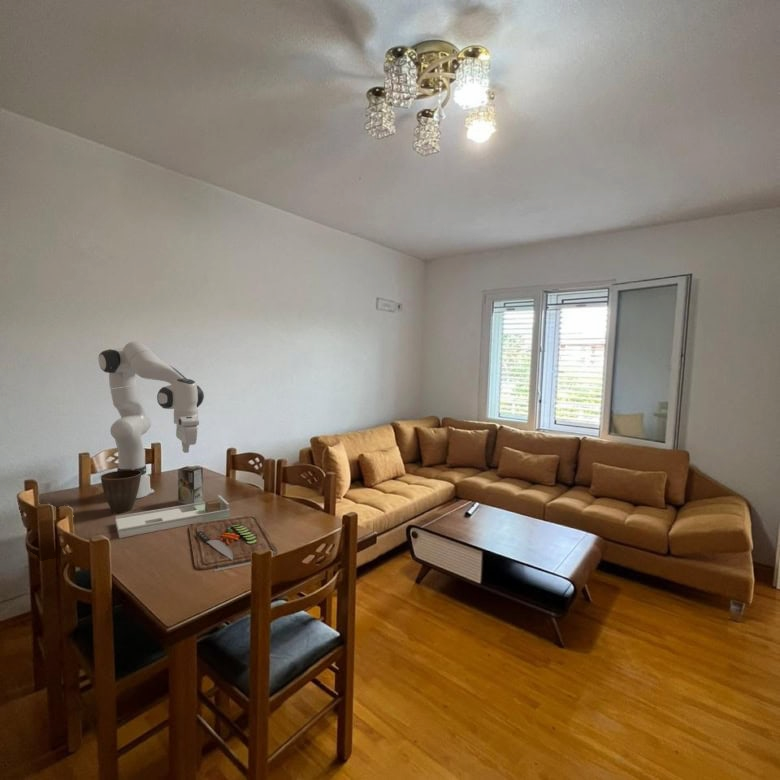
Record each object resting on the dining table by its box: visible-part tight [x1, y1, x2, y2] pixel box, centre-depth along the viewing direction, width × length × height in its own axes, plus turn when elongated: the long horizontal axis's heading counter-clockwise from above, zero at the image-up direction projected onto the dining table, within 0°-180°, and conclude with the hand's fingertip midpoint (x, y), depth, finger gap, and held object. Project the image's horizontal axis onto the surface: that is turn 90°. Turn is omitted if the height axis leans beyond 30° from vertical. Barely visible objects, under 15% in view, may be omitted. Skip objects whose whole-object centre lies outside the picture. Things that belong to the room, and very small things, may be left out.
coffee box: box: [177, 466, 204, 505], centre depth 196 cm, size 9×6×16 cm
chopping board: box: [188, 515, 279, 573], centre depth 157 cm, size 45×27×3 cm, turn 29°
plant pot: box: [100, 470, 141, 514], centre depth 182 cm, size 15×15×16 cm
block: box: [204, 498, 220, 513], centre depth 180 cm, size 5×5×4 cm
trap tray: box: [115, 494, 231, 539], centre depth 173 cm, size 16×40×5 cm, turn 128°
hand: (185, 452), depth 172 cm, fingers closed
